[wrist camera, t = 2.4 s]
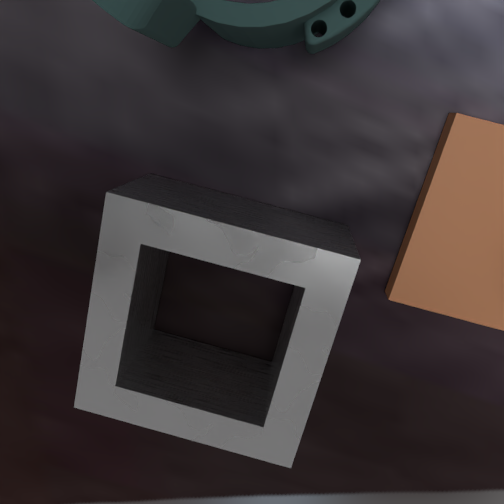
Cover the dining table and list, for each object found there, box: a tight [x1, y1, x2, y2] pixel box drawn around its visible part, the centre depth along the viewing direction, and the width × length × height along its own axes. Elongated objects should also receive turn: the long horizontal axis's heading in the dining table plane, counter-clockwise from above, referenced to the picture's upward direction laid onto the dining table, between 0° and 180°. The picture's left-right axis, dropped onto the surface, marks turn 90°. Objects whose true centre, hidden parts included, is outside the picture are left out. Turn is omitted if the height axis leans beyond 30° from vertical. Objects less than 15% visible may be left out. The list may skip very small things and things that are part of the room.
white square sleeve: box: [74, 174, 361, 468], centre depth 20 cm, size 9×9×5 cm
